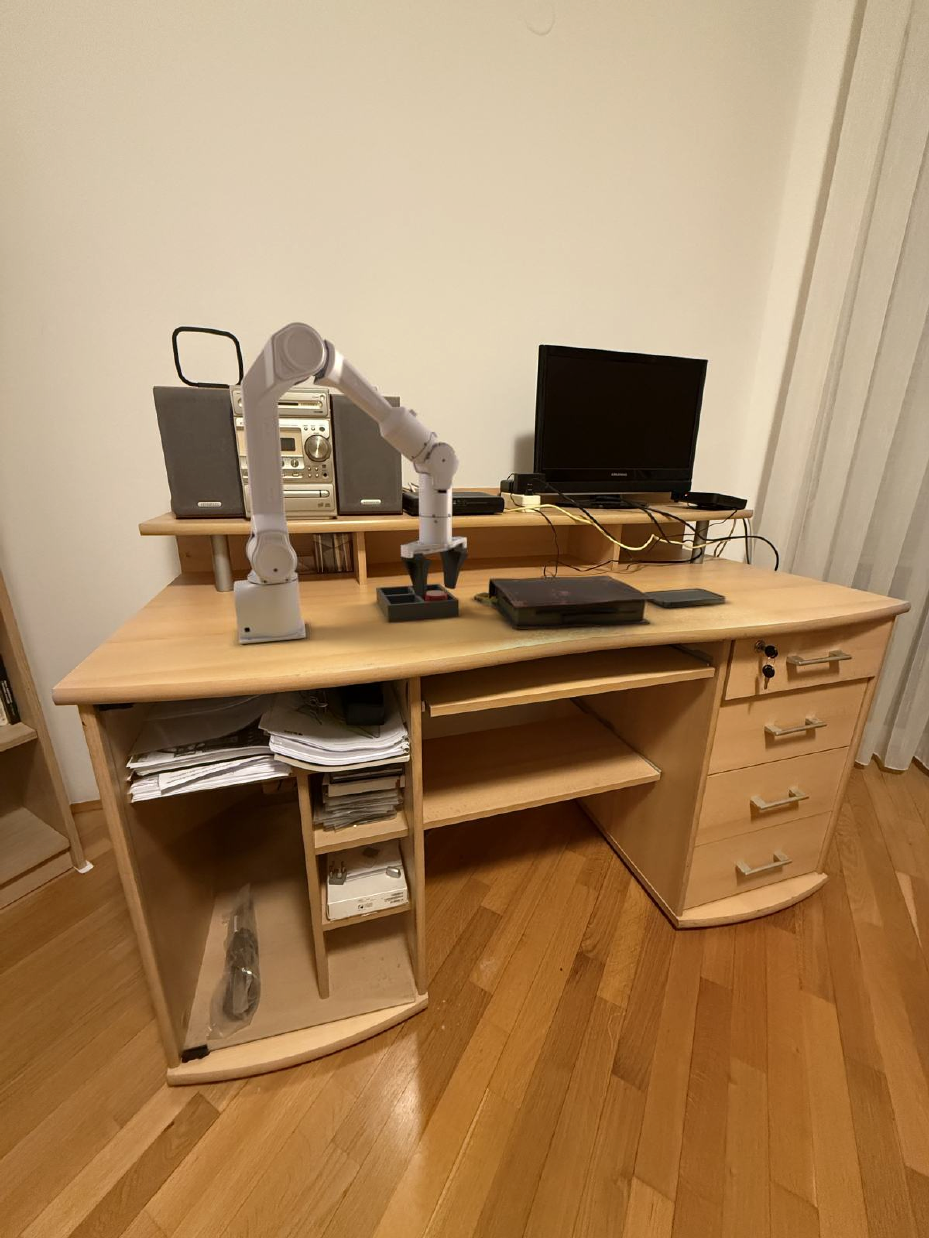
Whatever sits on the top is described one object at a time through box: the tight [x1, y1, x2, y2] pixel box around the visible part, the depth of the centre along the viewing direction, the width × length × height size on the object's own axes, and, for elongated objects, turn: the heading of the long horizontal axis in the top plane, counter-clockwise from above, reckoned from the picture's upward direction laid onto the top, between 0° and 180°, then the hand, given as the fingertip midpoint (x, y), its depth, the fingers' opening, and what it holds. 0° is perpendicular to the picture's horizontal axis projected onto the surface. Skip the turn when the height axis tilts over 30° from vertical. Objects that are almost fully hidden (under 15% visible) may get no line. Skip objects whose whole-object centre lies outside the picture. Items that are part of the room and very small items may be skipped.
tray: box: [375, 583, 460, 623], centre depth 91 cm, size 13×13×3 cm
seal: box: [473, 591, 497, 608], centre depth 97 cm, size 9×5×15 cm
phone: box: [643, 587, 727, 608], centre depth 100 cm, size 8×1×15 cm
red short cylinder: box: [425, 590, 447, 602], centre depth 89 cm, size 4×4×3 cm
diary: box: [488, 575, 654, 630], centre depth 90 cm, size 19×25×5 cm
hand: (435, 591), depth 89 cm, fingers open, 7 cm apart
